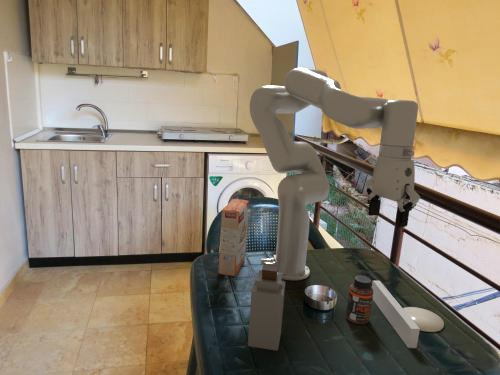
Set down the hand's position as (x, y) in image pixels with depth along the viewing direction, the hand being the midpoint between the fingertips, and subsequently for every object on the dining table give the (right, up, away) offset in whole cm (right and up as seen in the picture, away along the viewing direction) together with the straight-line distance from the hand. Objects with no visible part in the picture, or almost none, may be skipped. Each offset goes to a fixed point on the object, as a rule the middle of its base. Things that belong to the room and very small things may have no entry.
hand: (386, 220), depth 102 cm
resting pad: (+10, -26, +5) cm, 29 cm away
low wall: (+2, -26, +4) cm, 26 cm away
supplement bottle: (-7, -26, +3) cm, 27 cm away
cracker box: (-40, -17, +30) cm, 52 cm away
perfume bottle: (-31, -27, -8) cm, 42 cm away
